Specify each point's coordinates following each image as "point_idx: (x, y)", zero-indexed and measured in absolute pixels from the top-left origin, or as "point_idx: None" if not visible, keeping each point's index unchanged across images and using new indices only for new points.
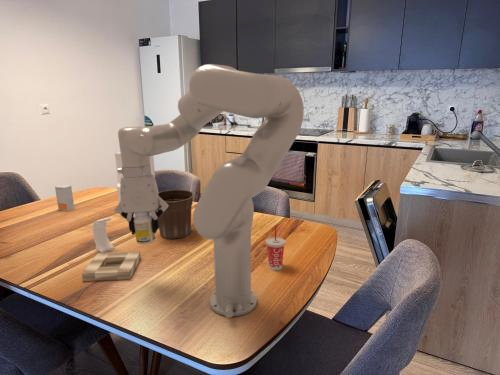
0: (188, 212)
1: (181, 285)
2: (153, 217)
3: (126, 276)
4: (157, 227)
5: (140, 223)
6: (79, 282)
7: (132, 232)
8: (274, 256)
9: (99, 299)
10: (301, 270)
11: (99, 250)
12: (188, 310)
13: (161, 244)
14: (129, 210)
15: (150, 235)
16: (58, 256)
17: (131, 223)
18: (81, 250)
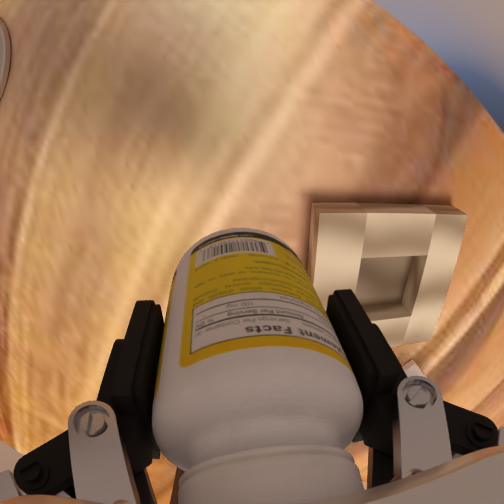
0: (172, 497)
1: (103, 150)
2: (109, 428)
3: (327, 206)
4: (117, 345)
5: (270, 347)
6: (458, 199)
7: (347, 297)
8: None
9: (385, 78)
10: None
11: (418, 367)
12: (65, 10)
13: None
14: (470, 491)
15: (182, 278)
16: (494, 332)
17: (380, 359)
18: (453, 363)
